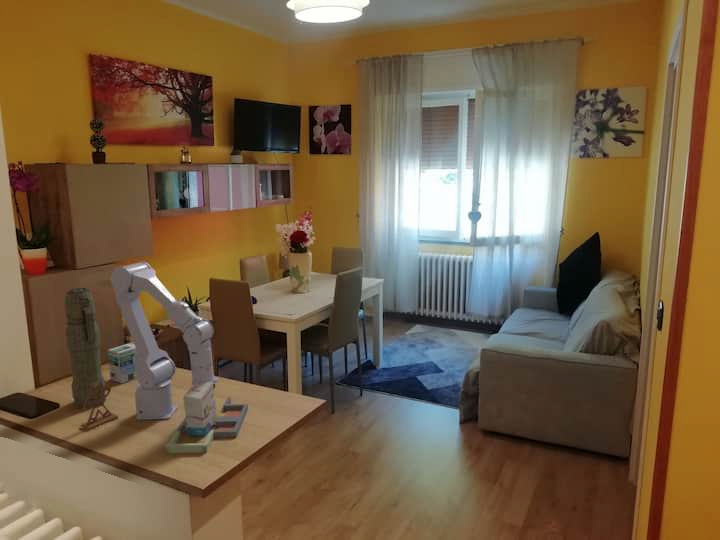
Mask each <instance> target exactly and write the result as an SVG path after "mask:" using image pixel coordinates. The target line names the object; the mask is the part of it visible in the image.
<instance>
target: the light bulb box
mask: <svg viewBox="0 0 720 540" xmlns="http://www.w3.org/2000/svg"><path fill="white" fill-rule="evenodd" d="M107 358H108V366H109V368H108V369H109V378H110V381H114V382H116V383H119V384H124V383H127V382H130V381H133V380H137V371H136V368H135V365H136V362H137V360H138V358H139V354H138V352H137V349H136V347H135V344H134V342H133V341H132V342H129V343H126V344H123V345H120V346H115V347H113V348H109V349H107Z"/></svg>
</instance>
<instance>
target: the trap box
mask: <svg viewBox="0 0 720 540" xmlns="http://www.w3.org/2000/svg"><path fill="white" fill-rule="evenodd" d="M222 409H223V411H225V413H224V415H223V416H217V419H216V421H215V422H214V426H215V428H217V429H216V430H213V429H210V430H209V431H208V433H207V435H206V436H207V437H206V438H205V440H204V442H196V443H195V442H191V443H187V442H185V443H177V442H178V441H179V440H180V438H181V436H182V435H183V433H184V431H185V429H186V428H187V421H186V416H185V417H184V419H183V420H182V422H181V423H180V425H179V426H178V427H177V429H176V431H175V432H174V434H173V436H172V437H171V438H170V440H169V441H168V443H166V444H165V454H190V453H191V454H193V453H195V454H196V453H197V454H200V453H201V454H202V453H207V452H208V450H209V448H210V446H211V443H213V440H214V438H215V439H216V438H237V437H238V436H239V435H238V434H239V432H240V430H241V427H242V425H243V423H244V420H245V417H246V415H247V413H248V410H249V404H248V403H232V397H231V396H227V397H226V400H225V401H224V403H223V407H222Z"/></svg>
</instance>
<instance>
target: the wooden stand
mask: <svg viewBox="0 0 720 540" xmlns="http://www.w3.org/2000/svg"><path fill="white" fill-rule="evenodd" d="M96 383H99V384H100V386H97V387H93V385H95V384H96ZM92 387H93V388H92ZM100 387H101V389H99V388H100ZM96 388H98V391H96V392H94V391H92V390H96ZM111 389H112V386H111V385H110V384H105V386H104V387H103V385H102V383H100V382H94V383H93V384H92V385H91V386H90V389H89V391H90V393H91V394H92V396H89V397H88V398H87V399H86V400H85V402H84V404H83V408H82V409H83V410H85V411H90V410H91V412H90V414H89V416H88V418H87V421H86V422H84V423H81V424H80V428H81V427H83V428H85V429H87V430H90V431H92V430H91V429H93V430H95V429H97V428H100V427H101V426H100V425H102V426H104V425H106V424H105V423H107V424H109V423H112V422H113V421H115V420H118V418H119V417H118V414H114V412H113V413H112V412H110V410H109V409H108V408H107V407H106V406H105V402H104V401H103V399H104V398H106V399H107V397H108V396H109V394H110V393H111ZM102 390H103V391H102ZM105 391H107V392H105ZM92 392H93V393H96V394H93V393H92ZM104 392H105V396H104V397H102V398H101V402H102V404H100V403H99V402H98V400H99V398H98V397H101V395H100V394H102V393H104ZM97 393H98V395H97ZM91 397H94V398H95V399H96V400H97V403H96V404H97V406H95V407H94V402H93V401H92V402H90V403H89V404H86V402H87V401H88V400H89V399H90V398H91ZM91 404H92V407H91ZM87 406H88V407H89V408H85V407H87ZM100 407H103V408H104V409H105V412H104V413H103V412H102V411H101V410H100V409H98V408H100ZM91 408H92V409H91ZM95 409H97V411H96V413H95V416H94V417H93V415H94V412H95ZM99 414H100V416H99ZM108 422H109V423H108ZM103 424H104V425H103ZM99 426H100V427H99ZM96 427H97V428H96ZM94 428H95V429H94ZM85 429H84V430H85ZM87 430H86V431H87Z"/></svg>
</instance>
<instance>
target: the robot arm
mask: <svg viewBox="0 0 720 540" xmlns="http://www.w3.org/2000/svg"><path fill="white" fill-rule="evenodd" d="M156 274H157V272H156V270H155V269H154V268H153V267H152V266H151V265H150V264H149V263H148V262H146V261H138V262H136V263H132V264H128V265H123V266H117V267H115V268H114V270H113V271H112V273H111V276H110V278H109V280H110V283H111V286H112V287H113V288H112V289H113V290H114V294H115V295H114V296H115V300H116V303H117V305H118V307H119V310H120V312H121V313H120V314H122V317H123V321H124V322H125V324H126V325H125V326H127V329H128V332H129V334H130V337H131V339H132V342H134V344H135V347H136V349H137V352H138V354H139V358H138V360H137V362H136V365H135V368H136V371H137V378H136V380H137V382H138V386H137V387H136V389H135V394H134V395H135V396H134V398H135V411H136V417H135V419H136V420H138V421H139V420H140V421H141V420H168V419H171V418H172V416H173V415H174V413H175V412H176V410H177V409H178V407H179V406H178V405H174V404H173V403H174V402H173V393H172V392H173V391H172V381H173V376H174V375H175V374H176V370H177V369H176V365H175V362H174V361H173V360H172V359H171V357H170V356H169V353H168V352H167V351H165V350H164V349H161V348H159V346H158V343H157V340H156V338H155V336H154V333H153V330H152V328H151V326H150V323H149V321H148V319H147V316H146V314H145V311H144V309H143V305H142V303H141V301H140V299H139V297H140V294H141V293H142V292H146V293H147V294H148V295H150V296H151V297H152V298H153V299H154V300H155V301H156V302H158V303H159V304H160V305H161V306H162V307H163V308H164V309H165V310H166V317H167V318H168V319H169V320H170V321H171V322H172V324H174V325H175V327H177V328H178V329H179V330H180V331H181V332H182V333H183V334H182V339H183V341H184V342H185V343H186V346H187V350H188V352H189V359H190V369H191V378H192V380H191V387H192V386H193V385H194V383H195V382H213V388H214V389H215V388H216V383H218V382H219V377H215V375H214V366H213V355H212V354H213V353H212V344H211V338H212V337H213V336H214V335H215V334H214V332H215V329H214V326H213V324H212V323H211V321H210V320H208V319H206V318H202V317H201V316H199V315H197V314H196V313H195V312H194V311H193V310H192V308H190V305H189V304H188V303H187V302H184V301H180V300H179V301H178V300H176V298H175V297H174V296H173V295H172V294H171V292H170V291H169V290H168V289H167V288H166V287H165V286H164V284H163V283H162V282H161V281H160V280H159V278H158V277H157V275H156ZM202 388H203V387H202ZM202 388H201V389H202ZM201 389H200V390H198V388H197V389H196V390H194V388H193V391H201Z"/></svg>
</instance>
